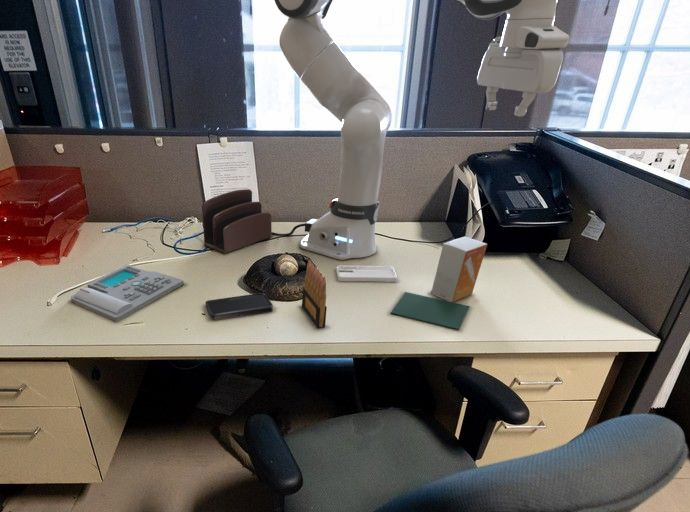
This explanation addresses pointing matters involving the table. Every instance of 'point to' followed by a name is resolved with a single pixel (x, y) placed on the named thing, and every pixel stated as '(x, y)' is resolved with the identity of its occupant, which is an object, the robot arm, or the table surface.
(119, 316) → the office telephone
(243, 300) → the phone
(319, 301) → the ammunition clip
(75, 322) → the table surface
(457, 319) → the mat
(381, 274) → the phone case
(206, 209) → the letter holder
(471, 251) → the small box
